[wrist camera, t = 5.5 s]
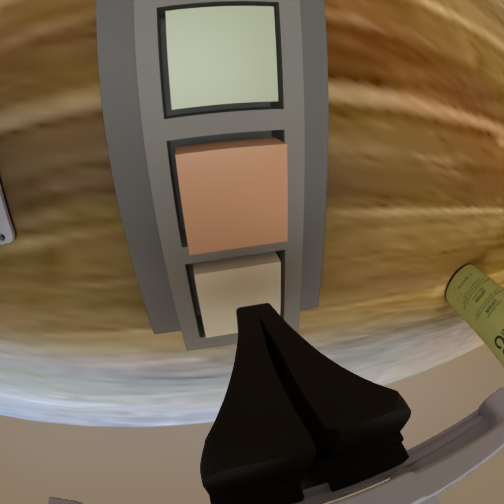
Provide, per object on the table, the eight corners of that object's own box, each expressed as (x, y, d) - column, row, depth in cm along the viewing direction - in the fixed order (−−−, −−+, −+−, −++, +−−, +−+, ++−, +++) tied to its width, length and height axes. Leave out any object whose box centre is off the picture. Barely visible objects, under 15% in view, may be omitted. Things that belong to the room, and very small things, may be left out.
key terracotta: (188, 235, 16) (189, 255, 14) (176, 146, 13) (175, 155, 12) (275, 223, 16) (287, 241, 15) (273, 137, 14) (287, 144, 12)
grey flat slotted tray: (154, 324, 21) (153, 356, 19) (105, -68, 8) (93, -91, 5) (313, 298, 23) (329, 326, 21) (308, -75, 10) (329, -96, 7)
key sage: (173, 108, 13) (171, 109, 12) (167, 21, 11) (165, 11, 9) (266, 99, 14) (278, 101, 12) (262, 16, 12) (273, 6, 10)
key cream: (202, 316, 20) (205, 337, 18) (192, 255, 18) (193, 274, 16) (271, 305, 21) (280, 325, 19) (270, 244, 18) (280, 261, 17)
